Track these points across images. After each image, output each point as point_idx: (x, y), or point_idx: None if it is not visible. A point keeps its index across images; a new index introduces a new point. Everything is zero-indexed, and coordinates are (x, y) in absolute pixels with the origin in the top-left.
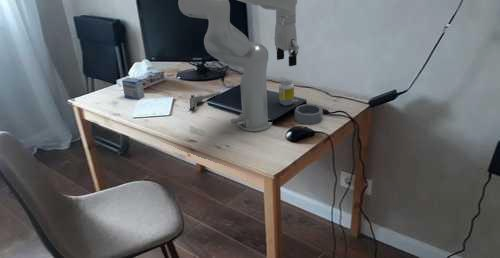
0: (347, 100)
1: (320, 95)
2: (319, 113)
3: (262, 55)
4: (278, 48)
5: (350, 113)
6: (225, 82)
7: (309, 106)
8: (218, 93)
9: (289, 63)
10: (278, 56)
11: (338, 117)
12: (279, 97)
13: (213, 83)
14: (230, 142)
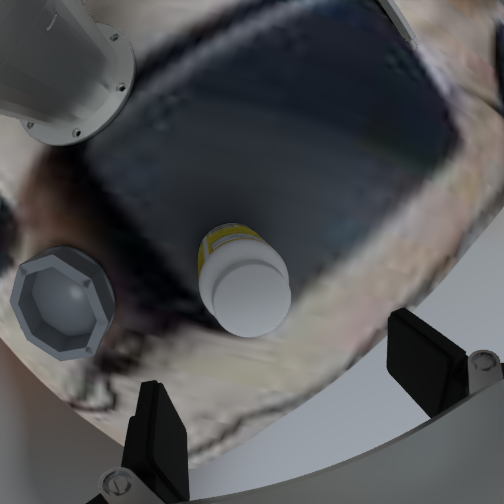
0: (196, 441)
1: (265, 390)
2: (24, 334)
3: None
4: (466, 385)
5: (98, 418)
6: (482, 105)
7: (94, 327)
8: (404, 29)
9: (138, 400)
10: (407, 336)
11: (72, 382)
12: (237, 228)
13: (480, 71)
14: None
